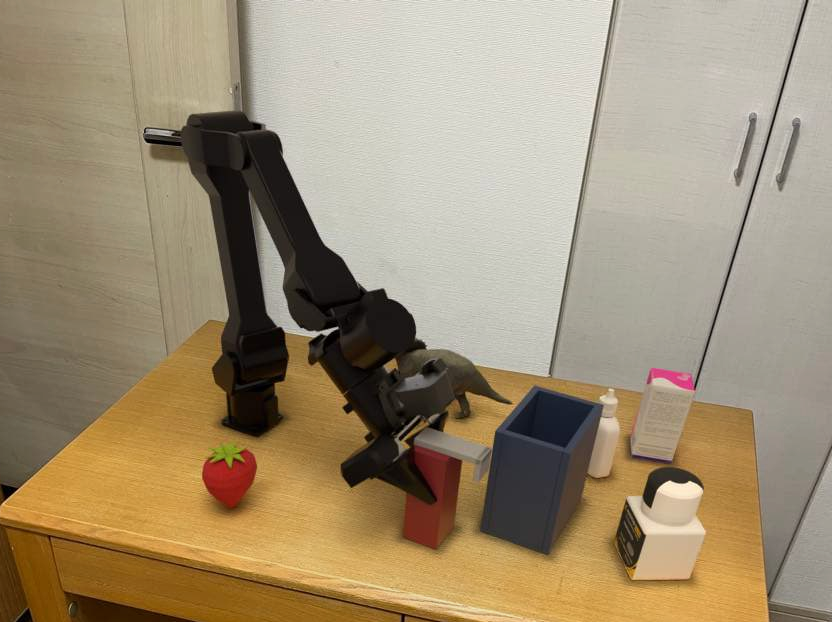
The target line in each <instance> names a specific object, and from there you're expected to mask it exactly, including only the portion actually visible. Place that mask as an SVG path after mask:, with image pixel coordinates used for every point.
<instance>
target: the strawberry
mask: <svg viewBox="0 0 832 622" xmlns="http://www.w3.org/2000/svg"><path fill="white" fill-rule="evenodd" d="M231 441H232V439H230V440H229V441H228V442H227V443H226V444H223V443H221V442H219V446H220V447H208V448H207V449H208V450H209V451H212V452H213V453H212V454H210V455H207V456H205V457H204V459H206V460H205V461H204V463H203V465H202V470H201V471H202V473H201V479H202V482H203V484H204V486H205V488H206V491H207V492H208V493H209V494H210V495H211V496H212V497H213V498H214V499H215V500H216V501H217V502H219V503H221V504H223V505H224V506H225V507H226V508H229V509H232V508H235V507H236V506H237V505H238V504H239V502H240V501H241V500H242V499H243V498H244V497H245V495H246V494H247V493H248V491H249V490H250V488H251V487H252V486H253V484H254V481H255V477H256V474H257V470H258V463H257V460H256V457H255V455H254V453H253V452H251V451H250V450H249V449H248V448H249V447H248V446H238V445H237V440H235V441H234V442H232V443H230V442H231ZM229 443H230V444H229ZM236 445H237V446H236Z"/></svg>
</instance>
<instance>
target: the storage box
mask: <svg viewBox="0 0 832 622" xmlns="http://www.w3.org/2000/svg"><path fill="white" fill-rule="evenodd" d="M603 407H604V405H603V404H599V403H598V402H595V401H591V400H589V399H584V398H580V397H577V396H574V395H570V394H567V393H564V392H561V391H556V390H553V389H548V388H545V387H542V386H538V385H536V384H535V385H533V386H532V387H531V388H530V390H529V391H528V392H527V393H526V394H525V396H523V398H522V399H521V400H520V401H519V402H518V404H517V405H516V406H515V407H514V409H512V411H511V412H510V413H509V414H508V415H507V416H506V418H505V419H504V420H503V421H502V422H501V424H500V425H498V427H497V428H496V429H495V431H494V437H493V444H492V451H491V457H490V463H489V470H488V477H487V483H486V490H485V496H484V503H483V508H482V509H483V510H482V516H481V523H480V530H479V531H480V532H481V533H484V534H486V535H490V536H493V537H495V538H498V539H500V540H504V541H507V542H510V543H513V544H516V545H518V546H521V547H524V548H526V549H530V550H532V551H535V552H538V553H540V554H544V555H546V556H548V555H549V554H550V553H551V551H552V550H553V548H554V546H555V545H556V543H557V541H558V539H559V538H560V537H561V535H562V533H563V531H564V530H565V528H566V527H567V525H568V523H569V522H570V519H571V518H572V516H573V515H574V513H575V512H576V510H577V509H578V506H579V505H580V503H581V501H582V497H583V493H584V490H585V489H584V488H585V484H586V480H587V476H588V474H587V473H588V469H589V464H590V460H591V456H592V452H593V448H594V444H595V440H596V436H597V431H598V427H599V423H600V419H601V415H602V411H603Z"/></svg>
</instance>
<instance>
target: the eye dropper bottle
mask: <svg viewBox="0 0 832 622" xmlns="http://www.w3.org/2000/svg"><path fill="white" fill-rule="evenodd" d="M597 403H599V404H603V405H604V407H603V411H602V415H601V419H600V423H599V427H598V431H597V436H596V440H595V444H594V448H593V452H592V456H591V460H590V464H589V469H588V473H587V475H589V476H590V477H592V478H595V479H600V478H605V477H609V476H610V473H611V469H612V465H613V461H614V457H615V453H616V450H617V447H618V443H619V438H620V434H621V426H620V423H619V420H618V418H617V417H616V416H615V415H616V412H617V408H618V404H619V399H618V398H617V397H615V389H614V388H608V390H607V392H606V394H603V395H601V396H599V398H598V401H597Z"/></svg>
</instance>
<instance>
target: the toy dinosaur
mask: <svg viewBox="0 0 832 622" xmlns="http://www.w3.org/2000/svg"><path fill="white" fill-rule="evenodd" d="M426 343H427V342H426V341H423V339H418V337H415V340H414V342H413V344H412V345H411V347H410V348H409V349H407V350H406V351H404V352H403V353H401V354H400V355H399V356H397V357H396V358H394V360H395V361H396V365H397V370H400V371H401V372H402V374H403V375H404V376H405V377H406V378H409V377H413V376H415V375H416V374H417V373H421V374H422V367H423V365H424V364H425V363H426V362H427V361H428V360H430V359H434V358H439V357H440V358H441V359H442V360H443V362H444V363H445V364H446V365H447V366H448V367H449V369H450V371H451V373H453V374H454V375H455V380H454V381H453V382H452V383H451V384H450V385H451V388H452V389H453V391H454V392H455V394H456V395H457V398H456V399H455V400H456V401H457V402H458V404H459V408H460V411H458V413H457V414H456V415H455V418H457V419H462V418H466V417H469V416H470V415H471V413H472V412H471V404H470V401H469V400H468V398H467V395H466V393H469V394H473V395H475V396H481V397H485V398H487V399H490V400H493V401H495V402H496V403H500V404H504V405H508V406H509V405H510V406H511V405H514V402H513V401H512V400H511V399H508V398H506V397H504V396H503V395H501V394H500V393H498V391H496V390H495V389H493V388H492V387H491V384H489V381H488V380H487V379H486V377H485V376H483V374H482V373H481V372H480V371H479V369H477V367H476V365H475V364H474V363H473V362H472V361H471V360H470V359H469V358H467V357H466V356H463V355H461V354H459V353H458V352H454V351H452V350H450V349H445V348H444V349H443V348H431V349H430V348H429V349H428V348H427V347H428V345H427V344H426ZM444 412H446V408H444V410H443V411H442V412H440V413H438V414H439V415H441V414H443V413H444Z"/></svg>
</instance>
